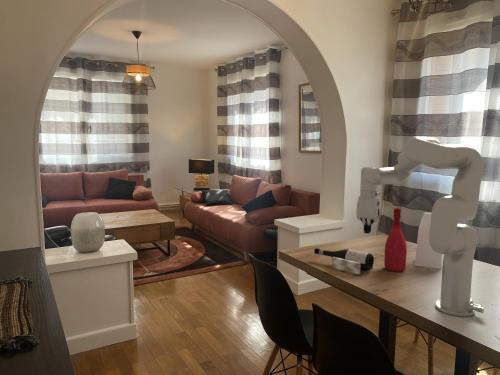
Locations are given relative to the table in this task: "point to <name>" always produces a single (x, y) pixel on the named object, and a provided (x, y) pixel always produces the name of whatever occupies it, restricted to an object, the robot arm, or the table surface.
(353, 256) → the wine bottle
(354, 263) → the cradle
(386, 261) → the wine bottle
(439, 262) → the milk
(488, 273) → the table surface
